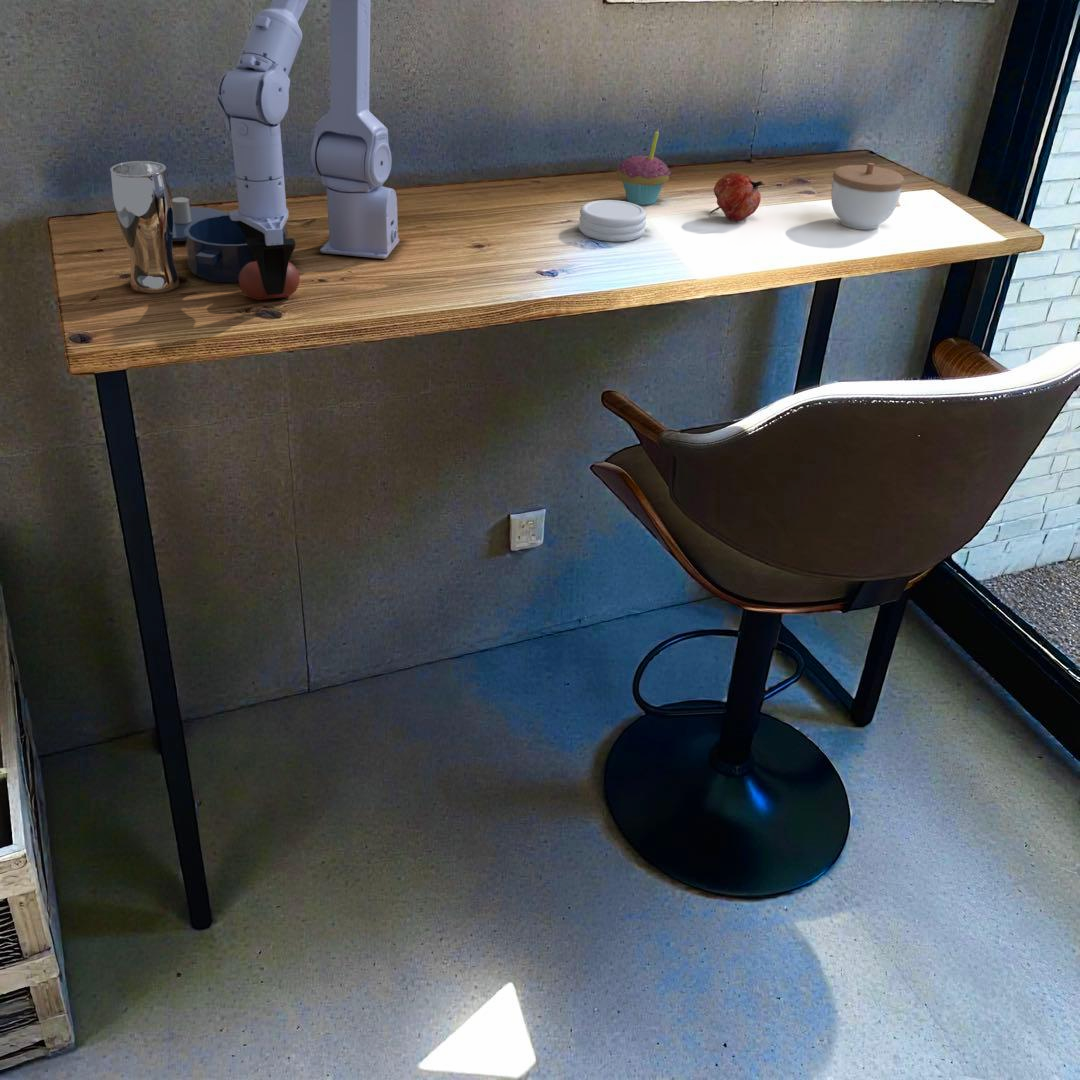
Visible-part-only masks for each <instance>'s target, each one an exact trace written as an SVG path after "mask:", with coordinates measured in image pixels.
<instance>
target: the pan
mask: <svg viewBox="0 0 1080 1080" xmlns="http://www.w3.org/2000/svg"><path fill="white" fill-rule="evenodd" d="M282 233H283V239H288V228H287V226H286V224H285V225H284V227H283V229H282ZM184 235H185V241H184V242H185V243H184V244H185V249H186V258H187V264H188V268H189V272H191V273H192V274H193V275H194V276H196V277H198V278H201V279H203V280H207V281H211V282H218V283H230V284H233V283H234V284H239V280H238V279H239V274H240V271H241V270H242V268H243V267H244V266H245V265H246V264H248V263H250V262H252V260H251V257H250V253H249V249H248V246H247V243H246V240H245V237H244V235H243V232H242V230H241V229H240V227H239V225H238V224H237V222H236V221H232V220H231V219H230V216H229V213H227V214H223V215H216V216H211V217H206V218H203V219H200V220H197V221H194V222H192V223H191V224H189V225H187V227H186V229H185V230H184Z"/></svg>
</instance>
